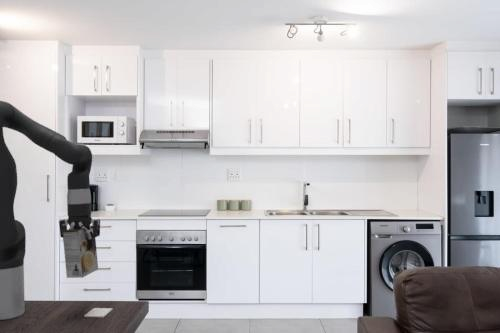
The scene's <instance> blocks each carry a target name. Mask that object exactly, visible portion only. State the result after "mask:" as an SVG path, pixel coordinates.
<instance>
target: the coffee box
mask: <svg viewBox="0 0 500 333" xmlns="http://www.w3.org/2000/svg"><path fill="white" fill-rule="evenodd" d="M90 227H91V228H92V230H93V225H90ZM90 227H88V228H86V229H87V230H90ZM62 232H63V238H62V241H63V250H64V251H63V252H64V261H65V263H64V264H65V274H66V278H68V279H69V278H70V279H71V278H74V279H75V278H78V279H79V278H80V279H81V278H85V277H86V276H88V275H90V274H92V273H94V272H96V271H98V270H99V263H98V253H97V242H96V237H95V238H94V248H93V249H92V250H88V237H87V235H86V234H85V229H70V230H69V229H67V230H65V231H62Z"/></svg>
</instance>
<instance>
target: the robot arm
mask: <svg viewBox="0 0 500 333" xmlns="http://www.w3.org/2000/svg"><path fill="white" fill-rule="evenodd" d="M4 128H6V129H10V130H13V131H15V132H17V133H20V134H23V135H24V136H26V137H27V139H29V140H30V141H31V142H32V143H33V144H35V145H36V146H38V147H40V148H42V149H44V150H45V151H48V152H50V153H52V154H53V155H55V157H57V158H59V159H60V160H61V161H63V162H65V163H67V164H69V165H72V167H71V172H70V173H68V174H67V191H66V192H67V194H66V206H67V208H66V209H67V216H68V218H67V219H61V220H59V221H58V225H59V235H60V238H62V239H63V232H62V231H65V230H70V229H85V234H86V235H87V237H88V250H92V249H93V248H94V238H95V239H96V238H97V237H99V236H101V220H100V219H99V218H97V219H93V218H92V194H91V188H90V184H91V183H90V176H91V175H90V174H91V170H92V165H93V164H92V163H93V153H92V150H91V149H90V148H89V147H88V146H87V145H84V144H76V143H74V142H71V141H69V140H68V139H67V137H65V136H64V135H63V134H60V133H59V132H57V131H55V130H53V129H51V128H50V127H47V126H45V125H44V124H41V123H39V122H37V121H35V120H34V119H32V118H31V117H29V116H27V115H26V114H24V113H23V112H22V111H21V110H20V109H18V108H17V107H15V106H13V104H11V103H10V102H7V101H3V100H0V321H2V320H11V319H14V318H18V317H20V316H22V315H24V313H25V312H26V310H25V306H26V304H25V267H24V262H25V261H24V260H25V256H26V246H27V245H26V241H27V240H26V238H27V237H26V228H25V226H24V224H23V223H22V222H21V221H19V220H18V219H16V217H15V212H14V210H15V209H14V204H15V198H16V195H17V190H18V189H17V188H18V170H17V164H16V163H17V162H16V160H15V159H14V157H13V154H12V152H11V151H10V150H9V147H8V145H7V144H6V141H5V137H4ZM68 226H69V228H68ZM90 226H93V230H92V228H91V227H90ZM88 227H90V230H87V229H86V228H88Z"/></svg>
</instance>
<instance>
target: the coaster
mask: <svg viewBox="0 0 500 333" xmlns="http://www.w3.org/2000/svg"><path fill="white" fill-rule="evenodd" d="M112 311H113V308H111V307H110V308H109V307H108V308H107V307H93V308H92V309H91V310H89V311H87V312H86V313H85V314H84V315H83V317H84V318H104V317H105V316H107V315H108V314H109V313H110V312H112Z"/></svg>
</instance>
